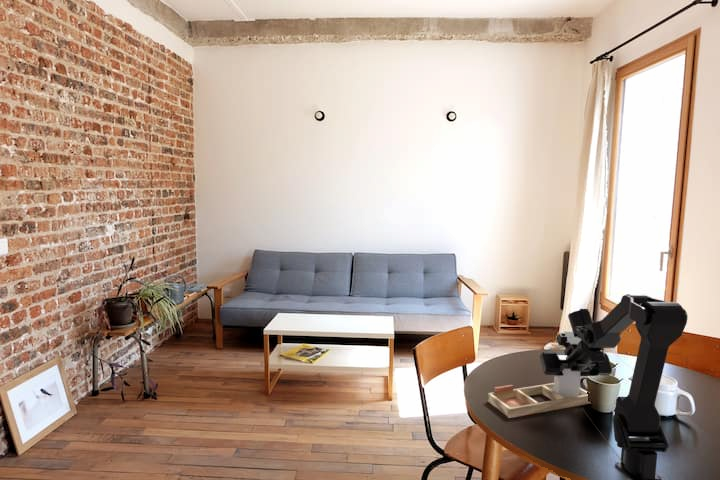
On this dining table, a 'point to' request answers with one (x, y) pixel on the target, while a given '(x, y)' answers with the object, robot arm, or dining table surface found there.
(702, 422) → the dining table surface
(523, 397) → the organiser
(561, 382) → the pale grey upright block
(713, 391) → the dining table surface
